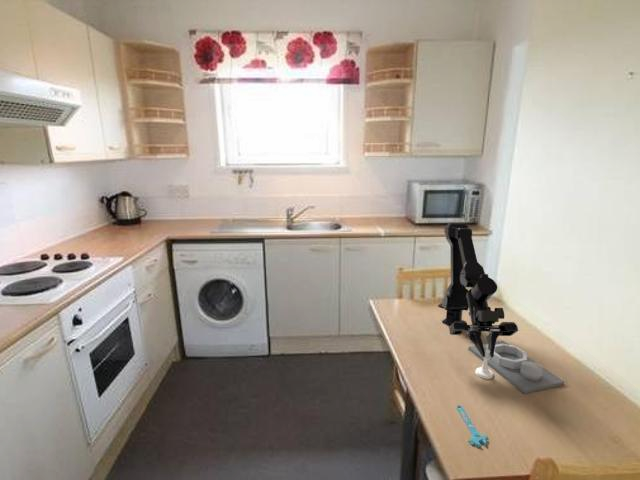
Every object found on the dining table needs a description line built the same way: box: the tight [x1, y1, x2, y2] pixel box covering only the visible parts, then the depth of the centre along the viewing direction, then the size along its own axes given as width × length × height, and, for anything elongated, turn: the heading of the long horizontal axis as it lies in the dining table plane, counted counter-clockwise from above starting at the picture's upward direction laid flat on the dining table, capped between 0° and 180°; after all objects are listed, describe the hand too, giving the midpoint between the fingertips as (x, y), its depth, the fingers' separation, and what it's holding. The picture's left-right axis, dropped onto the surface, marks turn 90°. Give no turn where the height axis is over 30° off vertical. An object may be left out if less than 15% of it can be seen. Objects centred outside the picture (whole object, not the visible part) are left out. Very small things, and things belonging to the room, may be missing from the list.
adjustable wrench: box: [455, 405, 489, 448], centre depth 91 cm, size 14×1×5 cm
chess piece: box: [475, 343, 494, 380], centre depth 110 cm, size 5×5×10 cm
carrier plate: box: [467, 340, 565, 395], centre depth 115 cm, size 24×14×4 cm, turn 16°
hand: (488, 357), depth 108 cm, fingers closed on chess piece
